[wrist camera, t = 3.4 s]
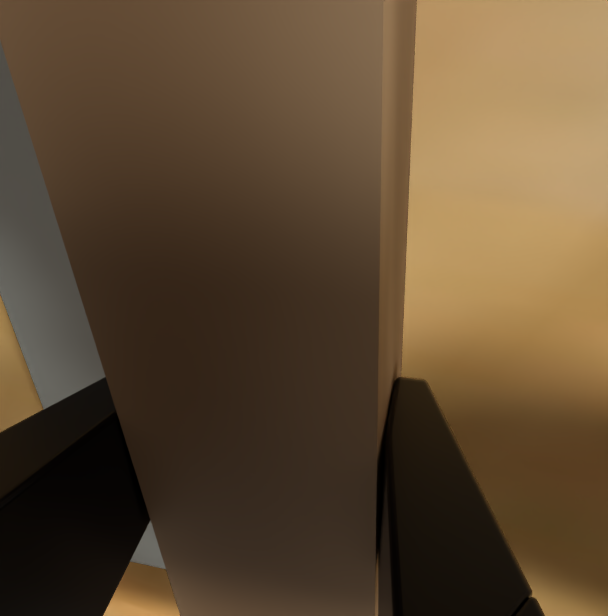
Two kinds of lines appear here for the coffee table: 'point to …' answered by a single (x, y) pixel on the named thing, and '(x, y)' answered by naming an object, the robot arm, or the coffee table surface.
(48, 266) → the rest board
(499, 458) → the coffee table surface
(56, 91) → the turner
